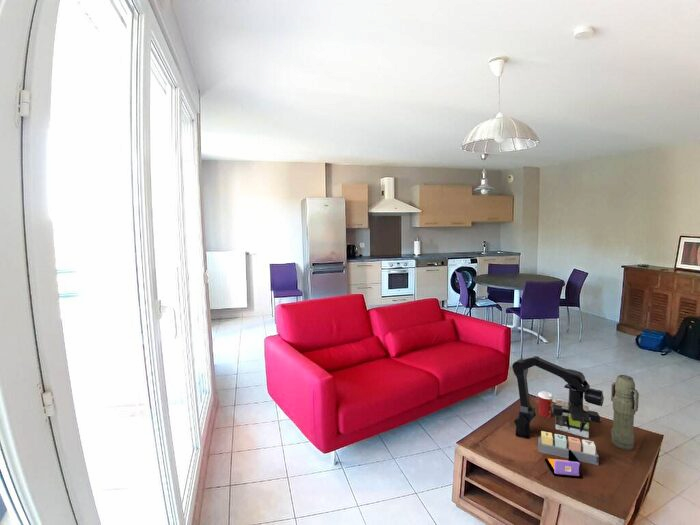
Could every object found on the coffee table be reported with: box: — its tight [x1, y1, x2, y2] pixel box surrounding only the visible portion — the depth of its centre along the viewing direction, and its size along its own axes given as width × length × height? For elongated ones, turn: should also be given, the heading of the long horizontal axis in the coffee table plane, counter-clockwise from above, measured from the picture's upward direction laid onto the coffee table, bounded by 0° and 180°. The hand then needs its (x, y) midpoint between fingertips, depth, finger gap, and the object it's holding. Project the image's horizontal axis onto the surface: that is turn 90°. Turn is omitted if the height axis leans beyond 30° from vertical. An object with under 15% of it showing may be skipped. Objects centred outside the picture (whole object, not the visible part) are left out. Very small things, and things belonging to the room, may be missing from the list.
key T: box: [581, 438, 597, 455], centre depth 162 cm, size 5×5×4 cm
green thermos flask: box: [610, 374, 640, 451], centre depth 172 cm, size 9×12×35 cm
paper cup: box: [537, 390, 554, 419], centre depth 199 cm, size 8×8×14 cm
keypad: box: [537, 435, 600, 466], centre depth 166 cm, size 24×7×4 cm, turn 64°
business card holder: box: [544, 450, 584, 480], centre depth 156 cm, size 12×12×7 cm
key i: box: [540, 430, 554, 446], centre depth 169 cm, size 5×5×4 cm
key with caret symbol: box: [553, 433, 568, 449], centre depth 167 cm, size 5×5×4 cm
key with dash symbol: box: [567, 435, 582, 452], centre depth 164 cm, size 5×5×4 cm
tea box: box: [555, 397, 590, 439], centre depth 186 cm, size 15×10×15 cm, turn 58°
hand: (574, 430), depth 164 cm, fingers open, 4 cm apart
